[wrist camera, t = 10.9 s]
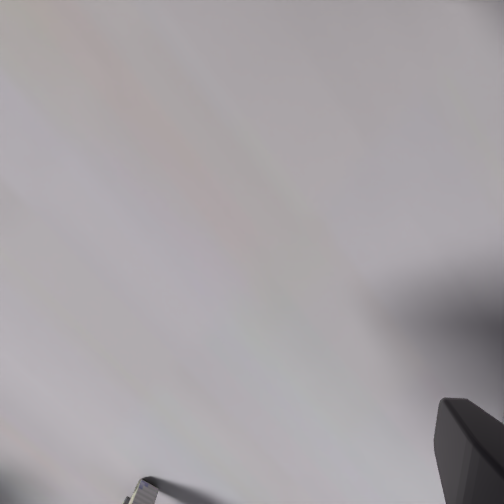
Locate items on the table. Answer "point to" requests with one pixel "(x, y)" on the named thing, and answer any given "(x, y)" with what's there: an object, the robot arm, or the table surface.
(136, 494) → the caliper
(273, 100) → the table surface
